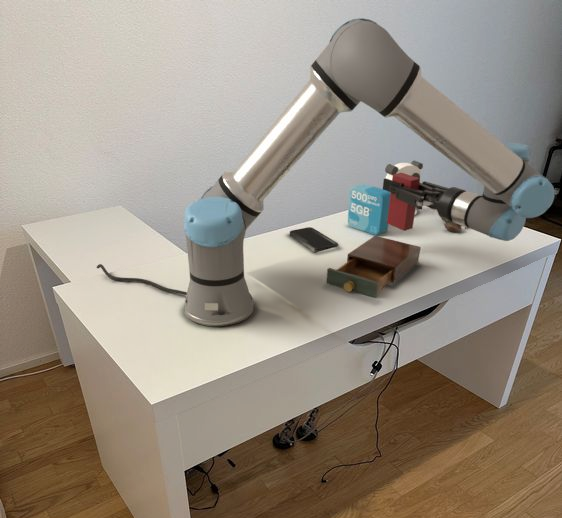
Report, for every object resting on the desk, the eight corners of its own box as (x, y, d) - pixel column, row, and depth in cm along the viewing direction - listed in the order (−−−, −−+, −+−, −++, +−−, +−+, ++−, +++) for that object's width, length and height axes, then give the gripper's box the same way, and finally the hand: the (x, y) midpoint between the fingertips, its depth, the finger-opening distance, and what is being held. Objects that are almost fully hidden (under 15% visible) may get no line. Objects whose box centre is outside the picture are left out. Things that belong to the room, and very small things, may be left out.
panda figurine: (393, 219, 169) (399, 170, 160) (373, 208, 177) (378, 161, 168) (424, 214, 173) (432, 165, 164) (403, 203, 181) (409, 157, 172)
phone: (310, 226, 160) (339, 244, 149) (310, 230, 160) (339, 247, 150) (287, 231, 157) (315, 249, 146) (287, 235, 157) (315, 253, 147)
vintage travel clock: (479, 204, 164) (449, 192, 167) (467, 212, 155) (436, 199, 158) (468, 226, 169) (439, 213, 172) (456, 235, 159) (426, 221, 162)
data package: (346, 225, 164) (350, 185, 157) (356, 222, 167) (359, 182, 160) (378, 236, 157) (383, 195, 150) (387, 232, 160) (393, 191, 153)
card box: (386, 223, 146) (392, 174, 139) (395, 221, 148) (401, 172, 140) (404, 231, 142) (411, 180, 134) (412, 228, 143) (420, 178, 136)
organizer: (392, 287, 131) (395, 267, 128) (345, 273, 137) (347, 254, 134) (417, 266, 141) (420, 246, 138) (372, 254, 147) (374, 235, 144)
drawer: (371, 304, 123) (374, 285, 120) (323, 289, 129) (324, 271, 126) (402, 277, 134) (405, 260, 132) (356, 265, 140) (358, 248, 138)
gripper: (434, 229, 125) (365, 202, 141) (479, 215, 133) (409, 191, 149) (439, 197, 121) (368, 172, 136) (485, 184, 129) (413, 163, 144)
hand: (389, 182), depth 142 cm, fingers closed on card box, 3 cm apart
